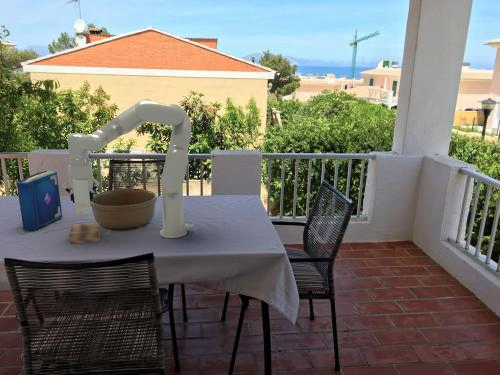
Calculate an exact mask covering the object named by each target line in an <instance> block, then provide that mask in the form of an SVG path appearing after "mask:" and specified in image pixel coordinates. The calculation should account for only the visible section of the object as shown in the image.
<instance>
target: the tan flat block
mask: <svg viewBox="0 0 500 375" xmlns="http://www.w3.org/2000/svg"><path fill="white" fill-rule="evenodd" d="M68 236H69V244H70V245H75V244H84V243H96V242H100V238H101V224H100V222H89V223H78V224H71V227H70V230H69V234H68Z"/></svg>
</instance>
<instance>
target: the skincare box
mask: <svg viewBox="0 0 500 375" xmlns="http://www.w3.org/2000/svg"><path fill="white" fill-rule="evenodd" d="M89 192H90V190H89V184H88V179H83V180H73V193H74V202H75V203H74V209H75V215H76V216H83V215H84V216H85V215H91V214H92V209H91V208H92V206H91V201H90V194H89Z"/></svg>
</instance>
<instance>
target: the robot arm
mask: <svg viewBox="0 0 500 375" xmlns="http://www.w3.org/2000/svg"><path fill="white" fill-rule="evenodd" d="M146 122H147V123H153V124H157V125H158V124H159V125H164V126H170V127H171V128H172V129H171V134H170V140H169V144H168V148H167V151H166V153H165V154H166V155H165V161H164V166H163V171H162V173H161V176H160V186H161V206H162V207H161V210H162V228H161V229H160V231H159V235H160V236H161V237H162V238H166V239H176V238H177V239H178V238H182V237H184V236H186V235H187V233H188V229H194V226H195V225H194V224H193V223H191V224H190V223H184V192H183V191H184V190H183V189H184V188H183V187H184V185H183V184H184V182H185V178H186V173H187V169H188V165H189V154H188V152H189V151H188V150H189V147H190V141H191V136H192V122H191V119H190V117H189V115H188V113H187V111H185V109H184V108H182V107H181V106H180V105H178V104H175V103H171V104H166V103H160V102H155V101H152V100H150V99H146V98H145V99H141V100H140V101H138V102H137V103H135V104H134V105H132V106H130V107H129V108H127V109H126V110H124V111H123V112H121V113H119V114H118V115H116V117H114V118H113V119H112V120H111V121H109V122H108V123H106V124H105V125H103V126H102V127H100V128H99V129H97V130H96V131H94V132H92V133H91V134H85V133H83V132H82V133H81V132H74V133H69V134H68V135H67V145H68V156H69V157H68V159H69V164H68V166H67V179H66V180H65V182H63V183H62V184H61V186H60V187H61V188H62V189H63V190H65V192H67V193H68V194H69V195H70V201H71V202H72V203H73V204H75V202H74V193H73V180H83V179H88V184H89V194H90V202H93V200H94V193H95V191H96V190H97V189H98V188H99V186H100V185H101V183H100V182H99V180H97V179H95V178H94V175H93V169H92V166H91V163H92V162H93V160H92V159H93V158H90V157H89V153H88V152H99V151H100V152H101V150H103V149H104V148H105V146H107V145H108V144H110V143H112V142H113V141H114V140H116V139H119V138H120V137H121V136H123V135H127V134H129V133H131V132H132V131H134V130H135V129H137V128H139V127H140V126H142V125H143V124H145V123H146ZM94 184H95V185H94Z"/></svg>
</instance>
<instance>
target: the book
mask: <svg viewBox="0 0 500 375" xmlns="http://www.w3.org/2000/svg"><path fill="white" fill-rule="evenodd" d="M15 184H16V190H17V194H18V195H17V196H18V202H19V209H20V215H21V216H20V217H21V221H22V227H23V230H26V231H28V232H29V231H32V232H34V231H36V230H38V229H41V228H45V227H46V226H48V225H50V224H53V223H54V222H56V221H57V220H59V219H61V218H62V217H63V213H62V212H63V211H62V204H61V195H60V194H61V193H60V188H59V187H60V186H59V178H58V173H57V171H52V170H49V171H47V170H43V171H41V172H37V173H33V174H31V175H28V176H26V177H25V178H24V179H21V180H18V181H17V182H16V183H15Z"/></svg>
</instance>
